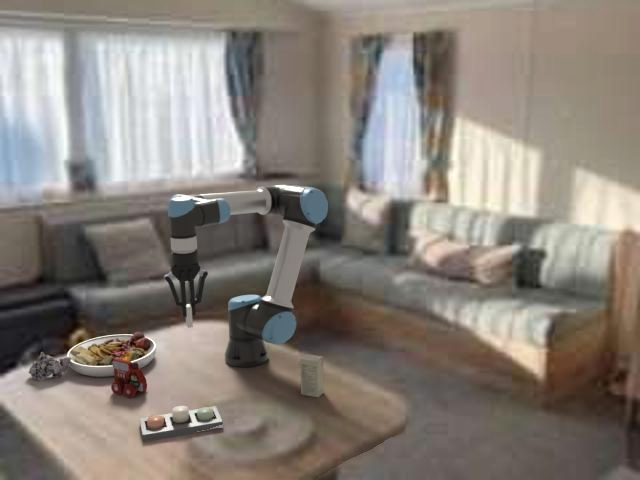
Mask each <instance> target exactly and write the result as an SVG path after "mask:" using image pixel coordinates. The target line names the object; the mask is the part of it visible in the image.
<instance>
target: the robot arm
mask: <svg viewBox="0 0 640 480" xmlns="http://www.w3.org/2000/svg"><path fill="white" fill-rule="evenodd" d="M326 197H327V196H326V194H325V193H324V192H323V191H322V190H320V189H318V188H315V187H312V186H305V185H296V184H289V183H283V184H277V185H276V184H275V185H267V186H259V187H257V188H256V189H255V190H244V191H230V192H229V191H228V192H217V193H215V192H214V193H201V194H199V193H198V194H187V195H186V194H183V193H181V194H178V193H177V194H174V195H172V196H171V197H170V198H169V200H168V202H167V216H168V225H169V236H170V237H169V238H170V249H171V262H172V263H171V264H172V265H171V268H170V271H169V272H168V273H167V274H164V275H163V278H164V279H165V281H166V282H167V284H168V286H169V287H168V288H169V289H170V291H171V292H170V293H171V295H172V298H173V301H174V303H175V305H176V307H181V315H182V317H183V318H185V325H186V328H188V329H190V328H193V327H194V323H193V316H196V305H197V304H200V303H201V302H202V299H203V294H204V293H203V292H204V287H205V282H206V279H207V277H208V275H209V272H208V271H207V270H206V269H202V268H201V266H200V265H199V254H198V252H199V251H198V250H197V249H198V240H197V229H198V228H205V227H208V226H209V227H210V226H215V225H219V224H223V223H225V222H228V221H229V219H230V217H231V216H232V215H243V214H253V213H258V214H260V215H263V216H264V215H273V216H276V217H277V216H278V217H283V218H282V220H281V221H282V223H283V226H284V230H283V234H282V238H281V241H280V244H279V248H278V253H277V256H276V259H275V264H274V265H273V266H274V267H273V269H272V273H271V277H270V282H269V284H268V287H267V292H266V294H265V295H264V296H261V295H258V294H244V295H239V296H235V297H232V298H230V300H229V301H228V303H227V304H228V308H227V315H228V332H229V333H228V342H227V346H226V349H225V353H224V361H225V363H226V364H228V365H230V366H232V367H237V368H251V367H256V366H260V365H262V364H264V363H266V362H267V360H268V358H269V355H268V349H267V346H266V344H265V343H269V344H272V345H276V346H277V345H283V344H284V343H286V342H287V341H289V340H290V339H291V337H293V335H294V334H295V331H296V328H297V320H296V316H295V314H293V312H294V307H295V306H294V305H293V303H292V299H293V294H294V292H295V288H296V284H297V281H298V276H299V273H300V269H301V265H302V263H303V259H304V255H305V251H306V247H307V245H308V240H309V236H310V234H311V233H312V232H314V231H316V227H317V224H319V223H322V222H323V220H325V219H326V217H327V215H328V211H329V203H328V199H327V198H326ZM197 275H199V278H198V283H197V288H196V294H195V278H196V277H197ZM173 276H174V277H173ZM174 278H176V279H177V281H178V283H179V292H180V295H178V293H177V289H176V287H175V284H174V282H173V281H174ZM186 282H187V284H188V297H189V298H188V300H189V303H187V295H186V294H187V292H186ZM179 296H180V299H179Z"/></svg>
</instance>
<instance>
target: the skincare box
mask: <svg viewBox="0 0 640 480" xmlns="http://www.w3.org/2000/svg"><path fill="white" fill-rule="evenodd" d="M299 365H300V366H299V367H300V368H299V369H300V393H301V395H303V396H307V397H313V398H320V397H321V396H322V395H323V393H324V392H325V386H324V382H325V381H324V357H323V356H321V355H316V354H308V353H305V354H303V356H301V357H300V358H299Z"/></svg>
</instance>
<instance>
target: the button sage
mask: <svg viewBox="0 0 640 480" xmlns="http://www.w3.org/2000/svg"><path fill="white" fill-rule="evenodd" d="M210 407H211V406H209V407H208V406H204V407H200V408H197V409H198V410H197V419H196V420H197V422H200V421H206V420H212V419H214V416H213V409H212V408H210Z"/></svg>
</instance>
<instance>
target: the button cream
mask: <svg viewBox="0 0 640 480" xmlns="http://www.w3.org/2000/svg"><path fill="white" fill-rule="evenodd" d="M189 410H190V409H189V407H188V406H186V405H178V406H175V407H173V408H172V409H171V413H172V419H173V421H174V422H176V423H184V422H188V421H189V420H188V419H189ZM187 420H188V421H187Z"/></svg>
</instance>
